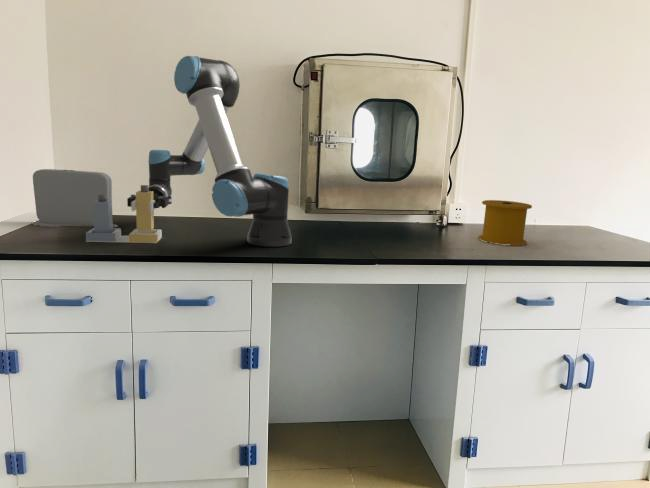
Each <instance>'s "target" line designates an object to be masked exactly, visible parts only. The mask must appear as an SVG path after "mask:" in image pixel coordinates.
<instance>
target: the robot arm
mask: <svg viewBox="0 0 650 488" xmlns="http://www.w3.org/2000/svg"><path fill="white" fill-rule="evenodd" d="M174 70H175V71H174V73H173V74H174V75H173V80H174V86H175V89H176V90H177V91H178V93H181V94H185V95H186V99H187V100H188V103H189V104H190V105H191V106H193V107H195V110H196V113H197V116H198V121H197V123H196V125H195V127H194V129H193V132H192V134H191V136H190V138H189V140H188V142H187V144H186V147H185V149H184V150H183V152H182V154H181V155H180V154H178V155H177V154H176V155H175V154H174V155H173V154H171V151H170V150H165V149H151V150H149V152H148V160H147V161H148V177H149V178H148V186H149V191H153V200H152V201H151V202H149V212H152V211H153V210H155V209H160V207H161V208H162V209H165V208H167V206H169V205H171V204H172V197H173V196H172V194H173V193H172V192H173V189H172V186H171V177H172V176H195V175H201V174H203V172H204V171H205V169H206V161H205V159H204V158H205V155H206V153H207V152H208V150H209V152H210V156H211V158H212V162H213V164H214V165H213V166H214V168H215V170H216V173H217V174H216V176H215V178H214V184H213V186H212V189H211V191H212V193H211V199H212V202H213V205H214V206H215V208H216V209H217V211H219V213H221V214H222V215H224V216H226V217H237V218H238V217H239V218H240V217H242V216H248V215H249V216H250V215H252V221H251V224H250V227H249V230H248V232H247V237H246V238H247V240H246V241H247V243H248V244H250V245H253V246H256V247H257V246H258V247H268V248H269V247H270V248H276V247H287V246H289V245H291V244H292V239H293V237H292V236H293V235H292V233H291V229H290V225H289V222H288V208H289V191H290V188H289V179H288V178H287V177H286V176H281V175H273V174H266V173H259V172H257V173H256V172H255V173H254V174H253V175H252V172H251V170H250V168H249V167H246V166H244V164H243V160H242V158H241V155H240V152H239V149H238V145H237V143H236V140H235V136H234V134H233V131H232V128H231V125H230V122H229V118H228V117H227V113H228V111H229V109H230V108H234V105H235V104H236V101H237V99H238V97H239V94H240V87H241V85H240V84H241V83H240V78H239V74H238V72H237V70H236V69H235V68H234V66H232V65H231V64H230V63H228V62H226V61H225V60H221V59H220V60H218V59H211V58H205V57H199V56H198V55H195V56H193V55H185V56H183V57H182V58H180V59H179V61H178V62H177V64H176V66H175V69H174ZM126 199H127V201H126V202H127V203H126V205H127V207H129V208H130V207H131V208H130V209H131V212H134V211H135V212H136V194H130V196H129V197H127V198H126Z"/></svg>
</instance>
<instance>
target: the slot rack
mask: <svg viewBox="0 0 650 488" xmlns="http://www.w3.org/2000/svg"><path fill="white" fill-rule="evenodd" d="M162 233H163V230H162V229H154V228H153V229H152V230H137V228H134V229H133V230H132V231H130V232H129V234H128V235H122V228H117V227H113V232H112V233H94V227H93V228H91V229H89V230H88V231H86V232H85V243H89V242H90V243H91V242H93V243H94V242H95V243H128V244H129V243H133V244H135V243H136V244H138V243H139V244H157V243H158V242H159V241H161V239H162V238H163V235H162Z"/></svg>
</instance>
